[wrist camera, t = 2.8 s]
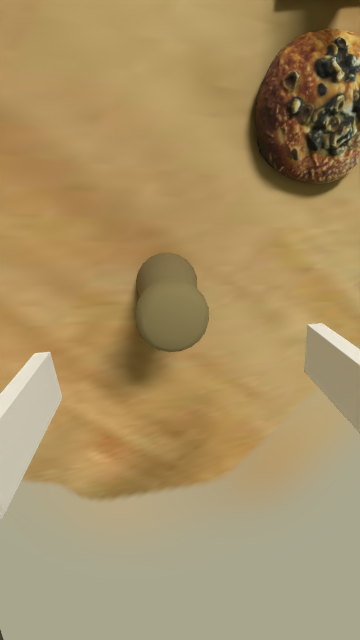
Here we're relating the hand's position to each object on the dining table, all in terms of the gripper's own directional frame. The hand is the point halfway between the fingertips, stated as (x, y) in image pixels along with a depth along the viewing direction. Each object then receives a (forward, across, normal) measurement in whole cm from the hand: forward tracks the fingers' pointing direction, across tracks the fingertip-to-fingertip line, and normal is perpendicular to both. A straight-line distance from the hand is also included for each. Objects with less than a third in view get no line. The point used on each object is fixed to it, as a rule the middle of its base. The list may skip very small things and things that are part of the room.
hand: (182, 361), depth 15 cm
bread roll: (+16, +14, +14) cm, 25 cm away
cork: (+16, 0, 0) cm, 16 cm away
